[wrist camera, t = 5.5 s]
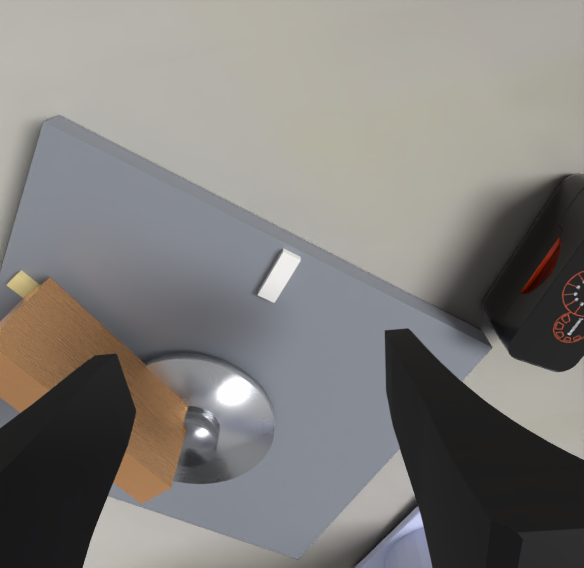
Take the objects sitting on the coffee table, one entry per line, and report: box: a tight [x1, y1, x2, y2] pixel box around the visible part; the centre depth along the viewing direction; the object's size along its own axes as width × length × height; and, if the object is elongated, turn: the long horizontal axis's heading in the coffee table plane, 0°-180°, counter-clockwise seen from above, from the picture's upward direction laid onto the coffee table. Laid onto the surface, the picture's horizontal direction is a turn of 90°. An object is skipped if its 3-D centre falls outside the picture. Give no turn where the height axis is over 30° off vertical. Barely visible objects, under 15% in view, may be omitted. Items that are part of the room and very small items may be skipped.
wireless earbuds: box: [482, 173, 584, 372], centre depth 18 cm, size 5×7×3 cm, turn 159°
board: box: [0, 115, 493, 560], centre depth 21 cm, size 18×16×2 cm
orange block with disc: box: [0, 277, 275, 504], centre depth 18 cm, size 12×7×4 cm, turn 36°
